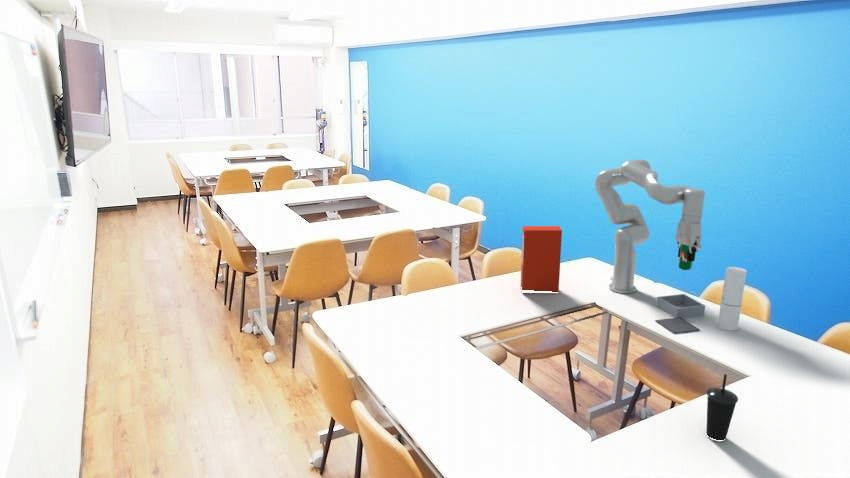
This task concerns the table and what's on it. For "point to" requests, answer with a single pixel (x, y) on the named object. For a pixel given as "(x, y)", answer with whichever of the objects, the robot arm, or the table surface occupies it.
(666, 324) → the mat
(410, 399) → the table surface
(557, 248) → the file binder
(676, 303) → the grey bin
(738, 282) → the cylindrical container
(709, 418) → the drinking cup
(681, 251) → the soda can
